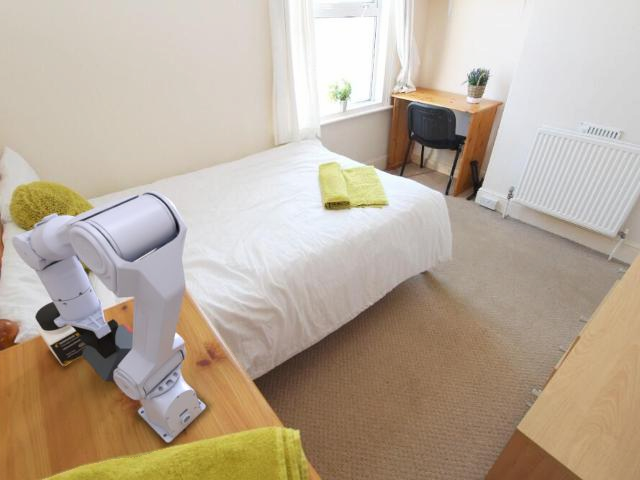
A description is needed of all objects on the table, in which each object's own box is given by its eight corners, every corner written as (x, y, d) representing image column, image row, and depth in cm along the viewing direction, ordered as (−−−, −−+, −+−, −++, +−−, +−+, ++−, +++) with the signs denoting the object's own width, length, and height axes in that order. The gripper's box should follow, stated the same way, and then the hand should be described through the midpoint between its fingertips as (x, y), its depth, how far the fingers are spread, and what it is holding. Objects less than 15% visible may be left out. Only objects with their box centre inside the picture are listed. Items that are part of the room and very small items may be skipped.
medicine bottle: (64, 367, 69) (37, 326, 63) (50, 350, 73) (24, 310, 66) (100, 345, 74) (79, 305, 67) (86, 330, 78) (64, 291, 71)
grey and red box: (105, 382, 61) (138, 377, 67) (120, 348, 62) (152, 347, 67) (81, 354, 67) (114, 353, 72) (95, 324, 67) (126, 324, 73)
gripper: (26, 286, 57) (59, 340, 64) (63, 322, 50) (96, 379, 57) (71, 265, 62) (97, 318, 69) (111, 296, 55) (135, 351, 62)
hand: (99, 344), depth 64 cm, fingers open, 7 cm apart
